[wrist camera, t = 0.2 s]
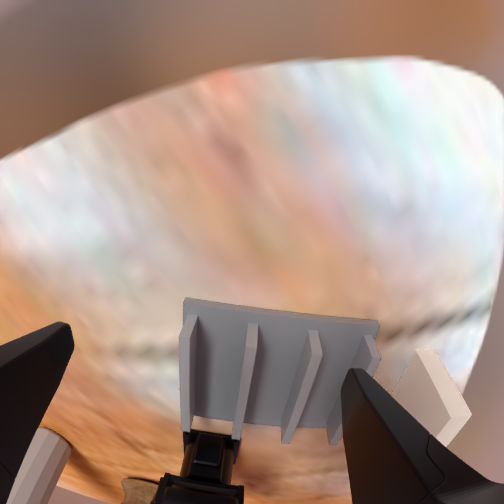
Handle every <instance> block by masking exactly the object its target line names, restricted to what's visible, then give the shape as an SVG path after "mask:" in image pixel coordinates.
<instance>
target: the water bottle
mask: <svg viewBox="0 0 504 504" xmlns="http://www.w3.org/2000/svg"><path fill="white" fill-rule="evenodd" d="M71 451H72V450H71V447H70V446H69V444H68V443H67V441H66V440H64V439H63V438H62V437H61V436H60V435H59V434H57V433H55V432H54V431H52V430H50V429H47V428H45V427H39V428H38V429H37V431H36V433H35V435H34V437H33V440H32V442H31V444H30V446H29V448H28V451H27V453H26V455H25V458H24V460H23V462H22V465H21V467H20V469H19V472H18V474H17V477H16V479H15V482H14V485H13V487H12V490H11V493H10V495H9V498H8V501H7V503H6V504H47V503H48V501H49V499H50V497H51V495H52V492H53V490H54V488H55V486H56V484H57V482H58V479H59V477H60V475H61V473H62V471H63V469H64V467H65V465H66V463H67V460H68V458H69V456H70V454H71Z"/></svg>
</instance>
